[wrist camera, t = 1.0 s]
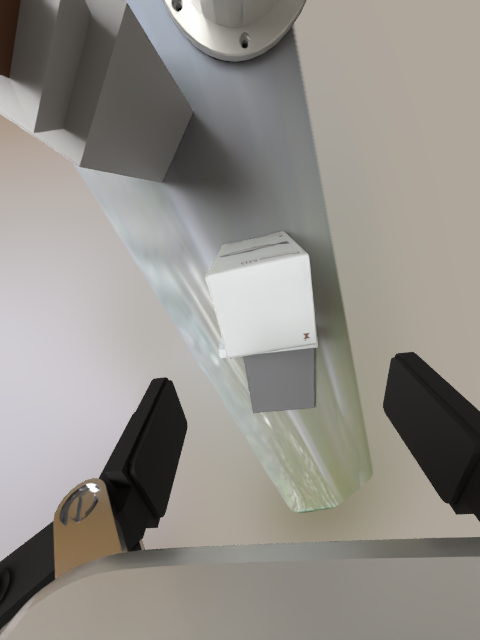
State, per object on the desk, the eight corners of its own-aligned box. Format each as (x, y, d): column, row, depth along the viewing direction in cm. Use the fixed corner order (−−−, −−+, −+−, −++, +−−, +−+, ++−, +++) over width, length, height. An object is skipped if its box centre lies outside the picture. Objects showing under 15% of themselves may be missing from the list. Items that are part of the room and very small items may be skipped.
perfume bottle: (193, 112, 21) (40, -140, 6) (162, 182, 24) (-3, 150, 8) (123, 55, 20) (-382, -539, 4) (98, 137, 23) (-263, -13, 7)
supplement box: (285, 228, 26) (314, 251, 15) (292, 290, 29) (320, 347, 18) (220, 242, 27) (202, 274, 16) (234, 301, 30) (227, 362, 19)
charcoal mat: (243, 352, 34) (243, 354, 33) (313, 345, 33) (314, 346, 32) (253, 411, 39) (253, 412, 39) (313, 405, 38) (314, 407, 38)
